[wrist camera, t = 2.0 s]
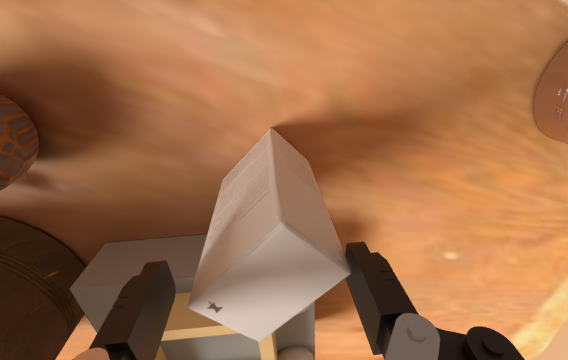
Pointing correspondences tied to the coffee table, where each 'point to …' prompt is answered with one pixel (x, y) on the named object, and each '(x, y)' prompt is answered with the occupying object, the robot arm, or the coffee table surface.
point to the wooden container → (35, 293)
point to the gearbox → (185, 305)
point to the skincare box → (267, 243)
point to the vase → (15, 142)
